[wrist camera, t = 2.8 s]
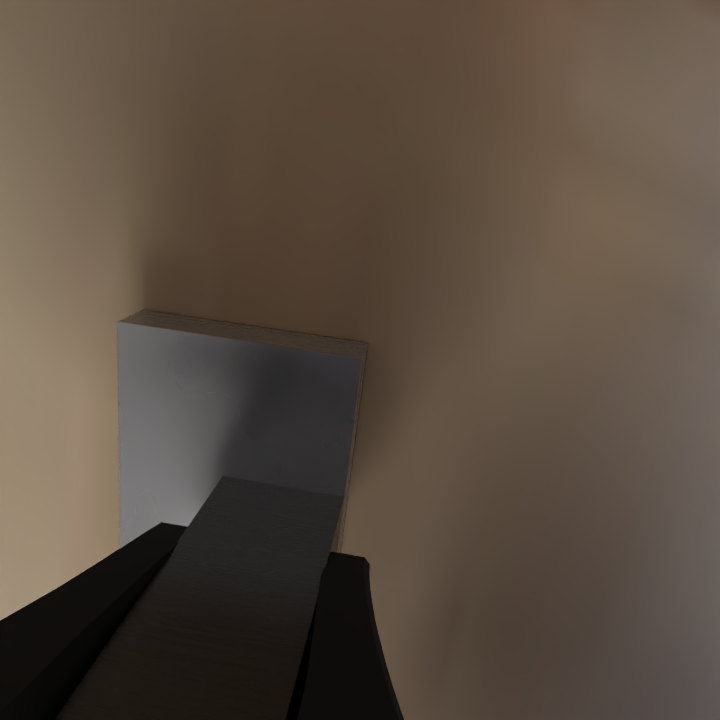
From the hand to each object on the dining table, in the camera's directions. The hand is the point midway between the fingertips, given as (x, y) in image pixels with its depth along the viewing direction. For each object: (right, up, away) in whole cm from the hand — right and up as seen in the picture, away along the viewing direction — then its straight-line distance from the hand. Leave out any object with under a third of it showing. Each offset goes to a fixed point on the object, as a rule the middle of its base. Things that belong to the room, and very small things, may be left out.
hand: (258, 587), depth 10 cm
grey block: (-1, +1, +2) cm, 3 cm away
